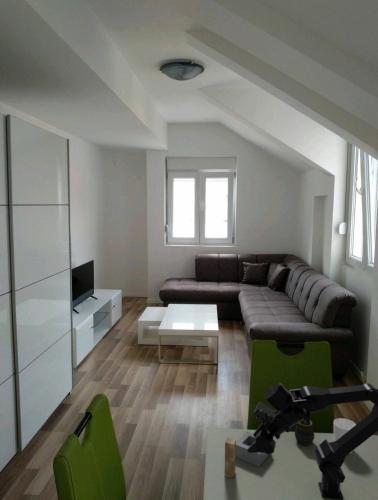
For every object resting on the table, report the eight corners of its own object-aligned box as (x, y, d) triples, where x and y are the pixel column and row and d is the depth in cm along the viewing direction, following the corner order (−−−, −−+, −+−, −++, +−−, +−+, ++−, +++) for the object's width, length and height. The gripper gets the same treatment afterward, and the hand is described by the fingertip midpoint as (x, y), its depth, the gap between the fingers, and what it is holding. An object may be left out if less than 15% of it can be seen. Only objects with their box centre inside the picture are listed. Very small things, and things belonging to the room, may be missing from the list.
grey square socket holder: (270, 452, 147) (271, 440, 146) (259, 466, 139) (259, 454, 138) (246, 443, 152) (246, 431, 152) (233, 456, 144) (234, 443, 144)
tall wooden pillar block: (235, 472, 136) (236, 439, 134) (233, 478, 133) (233, 444, 131) (226, 470, 137) (227, 437, 135) (224, 476, 134) (225, 442, 132)
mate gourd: (297, 447, 150) (297, 421, 149) (292, 435, 158) (293, 411, 157) (316, 447, 150) (317, 422, 149) (310, 436, 158) (311, 412, 157)
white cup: (351, 443, 153) (352, 418, 152) (357, 456, 145) (359, 430, 144) (330, 442, 154) (331, 417, 152) (335, 454, 146) (336, 428, 145)
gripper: (273, 385, 136) (241, 410, 141) (263, 411, 118) (227, 438, 123) (296, 411, 134) (262, 435, 139) (289, 442, 116) (251, 468, 122)
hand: (251, 443), depth 131 cm, fingers open, 9 cm apart
